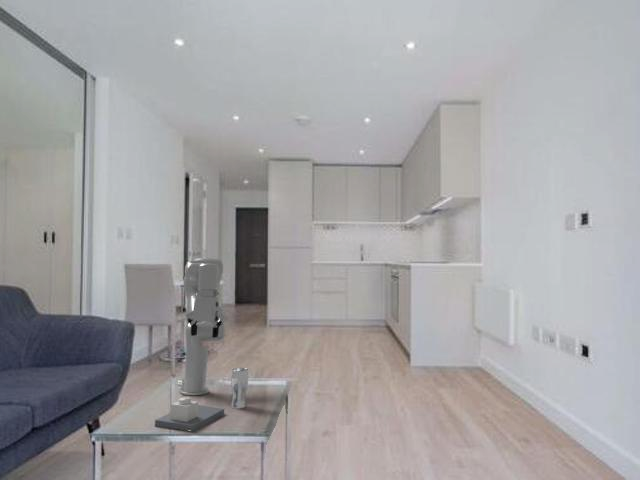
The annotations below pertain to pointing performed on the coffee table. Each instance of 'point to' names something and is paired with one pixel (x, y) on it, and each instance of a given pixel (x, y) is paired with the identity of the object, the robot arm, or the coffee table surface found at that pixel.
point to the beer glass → (239, 387)
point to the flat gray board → (203, 417)
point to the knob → (184, 409)
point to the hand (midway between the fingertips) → (204, 336)
